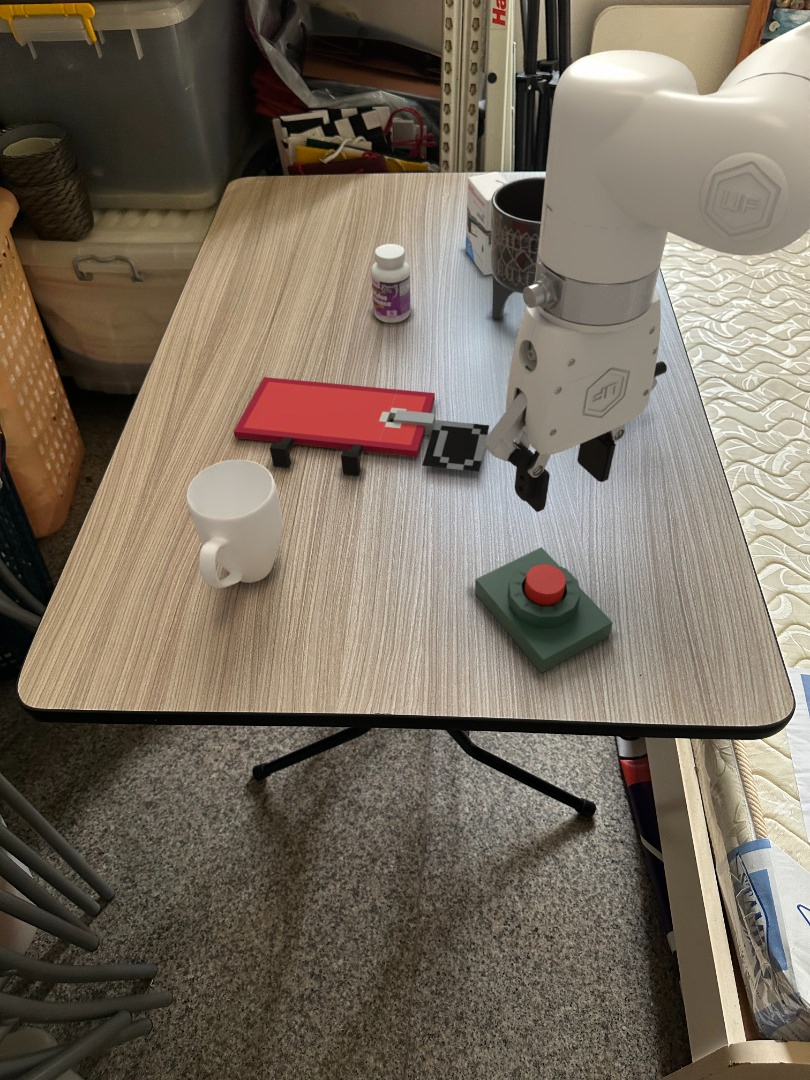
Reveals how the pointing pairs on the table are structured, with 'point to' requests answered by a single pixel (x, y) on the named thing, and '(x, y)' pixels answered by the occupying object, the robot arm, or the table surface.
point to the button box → (542, 613)
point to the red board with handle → (357, 424)
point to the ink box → (481, 218)
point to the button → (545, 584)
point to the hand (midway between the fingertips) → (561, 484)
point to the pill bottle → (391, 284)
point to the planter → (515, 238)
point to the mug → (235, 521)
